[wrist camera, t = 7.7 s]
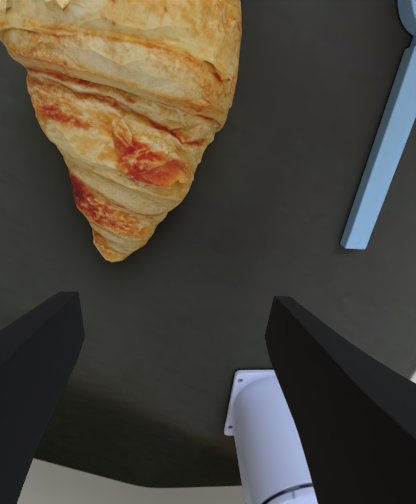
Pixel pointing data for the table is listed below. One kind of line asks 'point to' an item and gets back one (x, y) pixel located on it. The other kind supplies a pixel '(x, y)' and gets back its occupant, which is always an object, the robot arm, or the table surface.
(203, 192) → the table surface
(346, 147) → the table surface
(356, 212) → the spoon
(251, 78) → the table surface
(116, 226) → the croissant
